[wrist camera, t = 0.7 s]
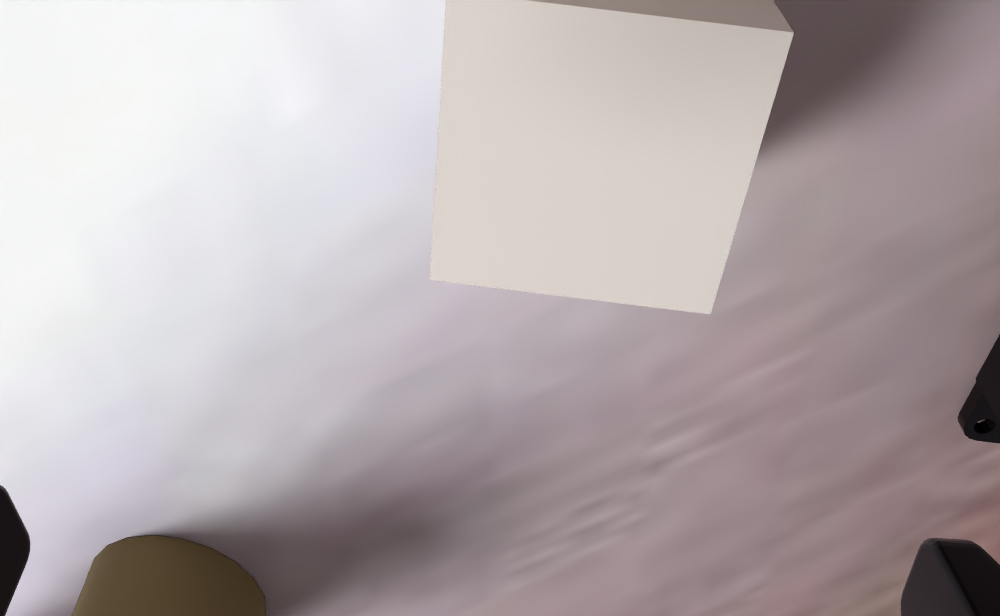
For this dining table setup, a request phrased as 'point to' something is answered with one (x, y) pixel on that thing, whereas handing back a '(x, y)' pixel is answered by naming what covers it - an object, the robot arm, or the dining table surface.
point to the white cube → (600, 144)
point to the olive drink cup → (167, 581)
